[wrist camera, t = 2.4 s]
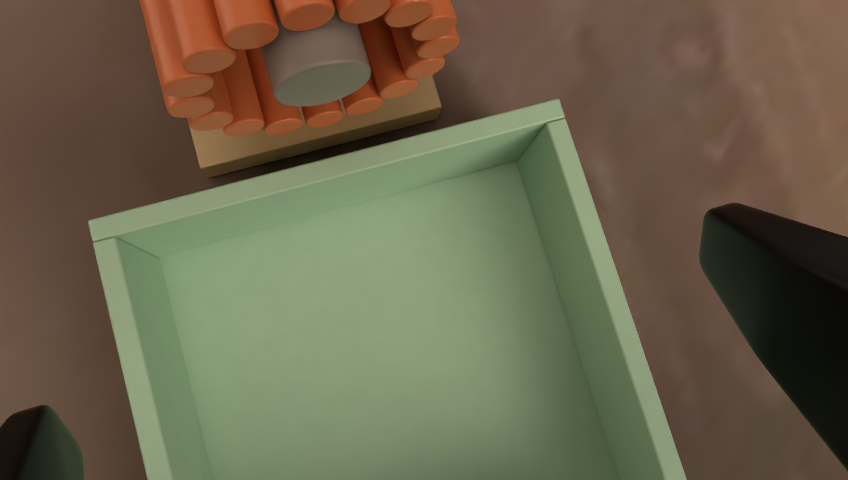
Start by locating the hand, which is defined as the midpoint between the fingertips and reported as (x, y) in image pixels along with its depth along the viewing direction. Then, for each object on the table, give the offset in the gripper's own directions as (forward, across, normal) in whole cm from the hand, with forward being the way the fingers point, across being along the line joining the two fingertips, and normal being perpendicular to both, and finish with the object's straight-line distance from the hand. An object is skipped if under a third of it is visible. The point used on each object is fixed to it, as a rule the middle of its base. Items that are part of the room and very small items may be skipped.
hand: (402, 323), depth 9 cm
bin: (+9, 0, +11) cm, 14 cm away
